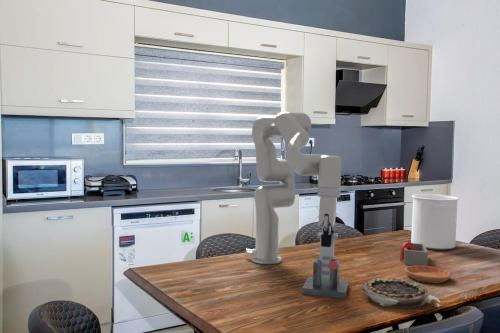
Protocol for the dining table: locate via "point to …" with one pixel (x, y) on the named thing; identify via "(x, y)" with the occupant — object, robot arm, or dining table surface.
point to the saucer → (427, 274)
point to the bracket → (405, 245)
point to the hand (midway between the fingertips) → (327, 243)
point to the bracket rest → (416, 255)
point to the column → (326, 259)
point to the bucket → (434, 221)
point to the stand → (335, 287)
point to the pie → (397, 292)
